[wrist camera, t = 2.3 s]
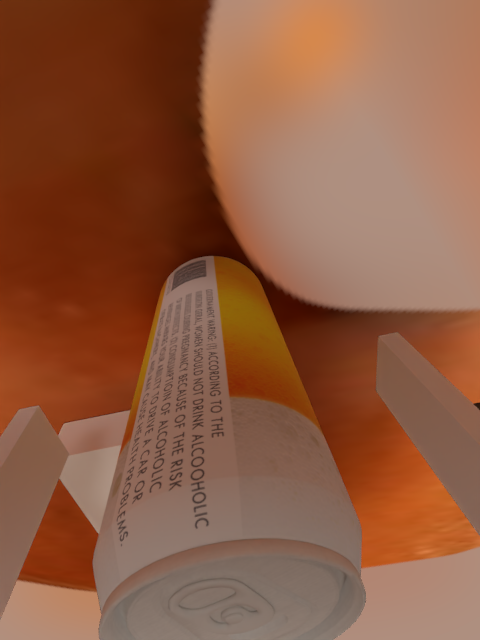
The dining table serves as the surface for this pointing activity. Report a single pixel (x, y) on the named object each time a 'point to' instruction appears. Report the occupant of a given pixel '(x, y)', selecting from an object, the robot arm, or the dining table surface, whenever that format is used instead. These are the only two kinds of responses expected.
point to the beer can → (224, 482)
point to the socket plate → (92, 461)
